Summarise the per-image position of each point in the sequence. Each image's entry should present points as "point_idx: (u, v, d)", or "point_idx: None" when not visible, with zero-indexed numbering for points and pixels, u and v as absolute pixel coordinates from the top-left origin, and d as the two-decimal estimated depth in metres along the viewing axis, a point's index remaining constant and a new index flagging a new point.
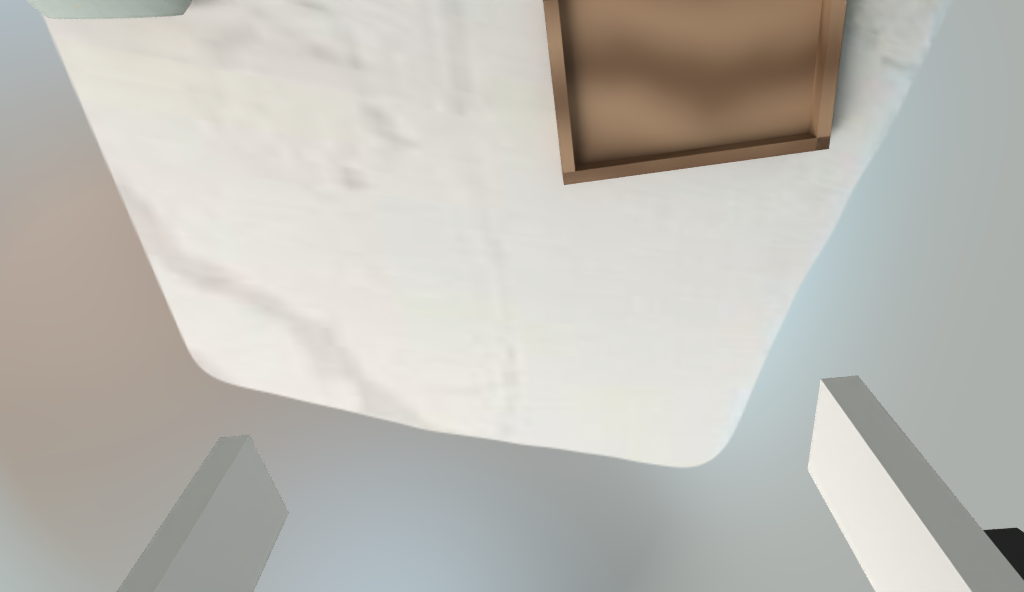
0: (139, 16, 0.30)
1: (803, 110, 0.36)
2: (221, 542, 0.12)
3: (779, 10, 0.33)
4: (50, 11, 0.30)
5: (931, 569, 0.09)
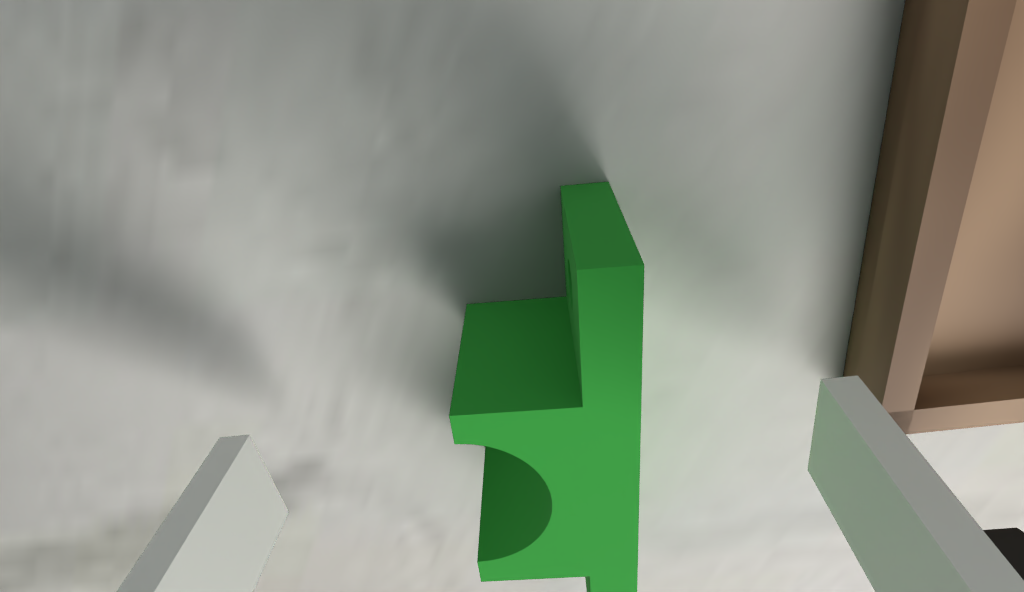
0: None
1: None
2: (221, 542, 0.12)
3: None
4: None
5: (931, 569, 0.09)
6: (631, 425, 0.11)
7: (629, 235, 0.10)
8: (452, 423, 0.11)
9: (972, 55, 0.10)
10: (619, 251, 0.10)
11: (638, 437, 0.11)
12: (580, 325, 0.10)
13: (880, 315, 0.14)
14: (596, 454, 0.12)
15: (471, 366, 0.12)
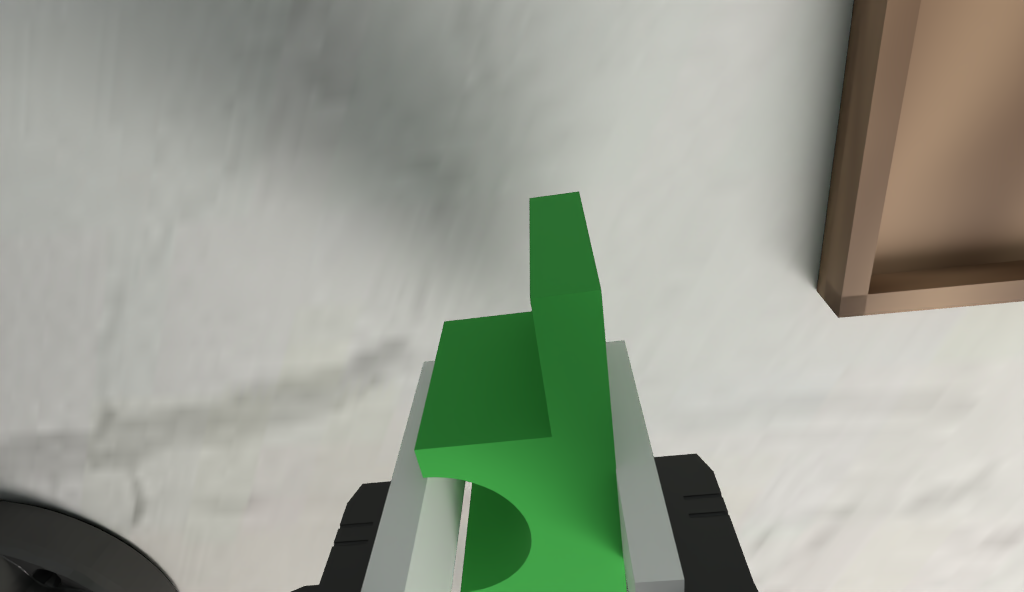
0: None
1: None
2: None
3: None
4: None
5: None
6: (605, 453, 0.11)
7: (590, 255, 0.10)
8: (418, 457, 0.11)
9: (896, 13, 0.14)
10: (578, 274, 0.09)
11: (614, 465, 0.11)
12: (540, 354, 0.09)
13: (841, 218, 0.18)
14: (570, 483, 0.11)
15: (441, 394, 0.12)
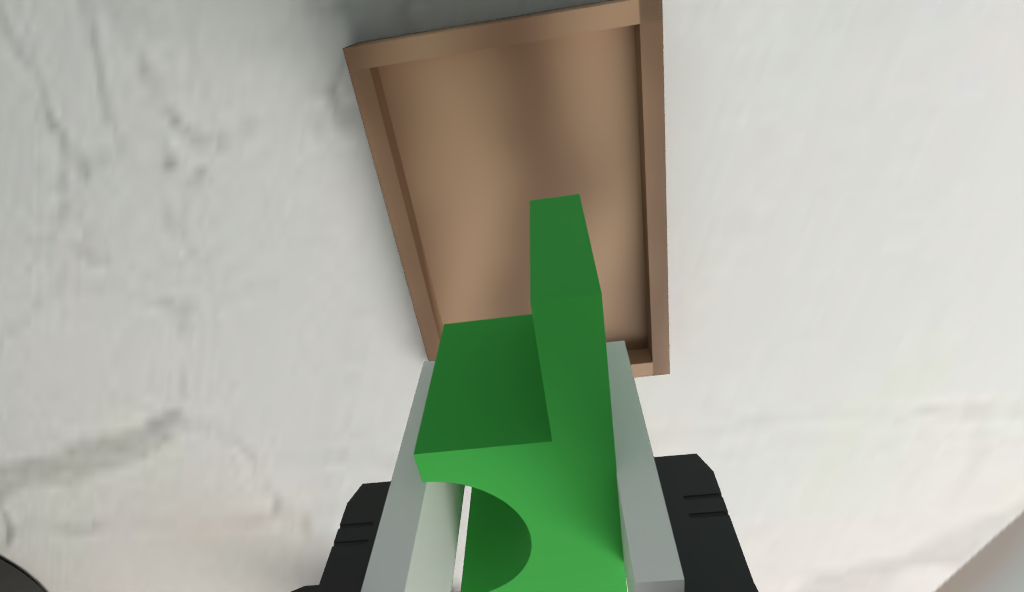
0: None
1: (595, 41, 0.22)
2: None
3: (452, 114, 0.23)
4: None
5: None
6: (606, 458, 0.11)
7: (591, 259, 0.10)
8: (417, 461, 0.11)
9: (399, 233, 0.25)
10: (578, 278, 0.09)
11: (614, 470, 0.11)
12: (540, 359, 0.09)
13: None
14: (571, 487, 0.11)
15: (441, 397, 0.12)
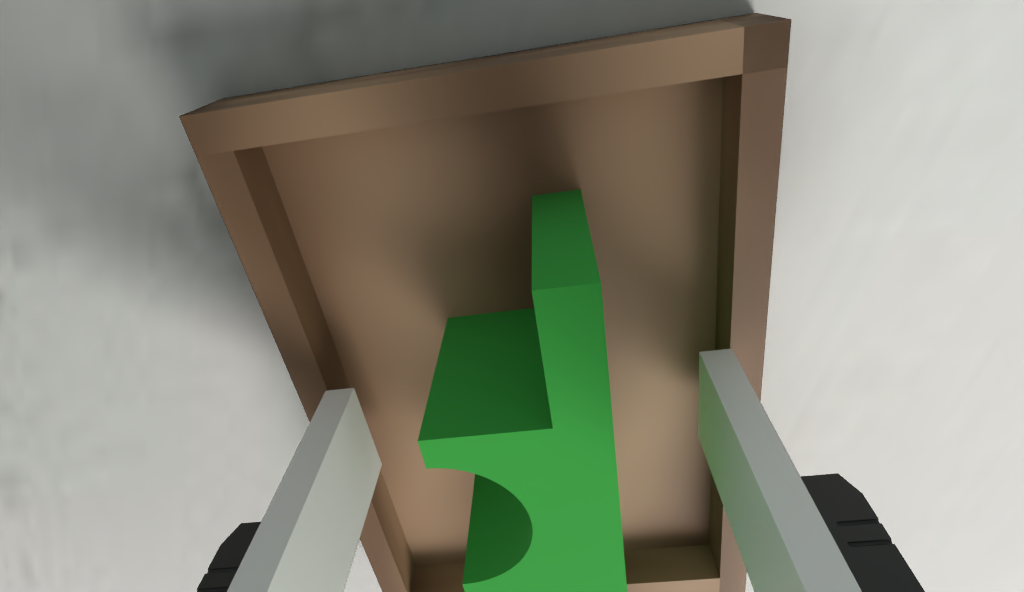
0: None
1: (649, 99, 0.12)
2: (339, 482, 0.13)
3: (397, 219, 0.13)
4: None
5: (756, 507, 0.10)
6: (605, 445, 0.11)
7: (591, 250, 0.10)
8: (421, 448, 0.11)
9: (313, 407, 0.15)
10: (578, 268, 0.10)
11: (613, 457, 0.11)
12: (541, 346, 0.10)
13: None
14: (571, 474, 0.11)
15: (444, 387, 0.12)
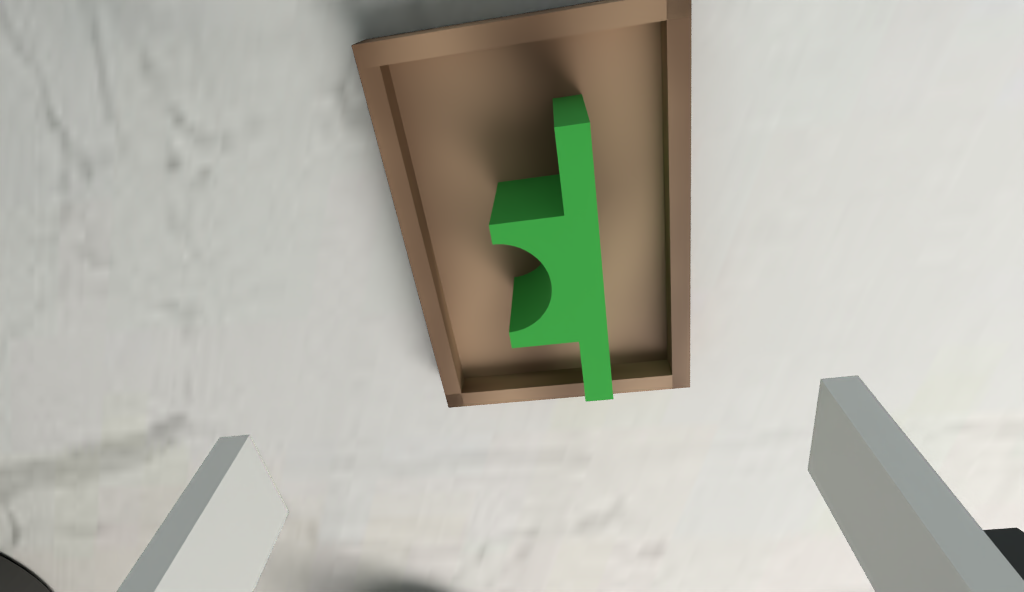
0: None
1: (618, 38, 0.20)
2: (221, 542, 0.12)
3: (466, 115, 0.22)
4: None
5: (931, 569, 0.09)
6: (593, 227, 0.19)
7: (586, 113, 0.19)
8: (490, 230, 0.20)
9: (409, 238, 0.24)
10: (579, 119, 0.18)
11: (598, 235, 0.19)
12: (558, 161, 0.18)
13: None
14: (574, 248, 0.20)
15: (501, 207, 0.21)
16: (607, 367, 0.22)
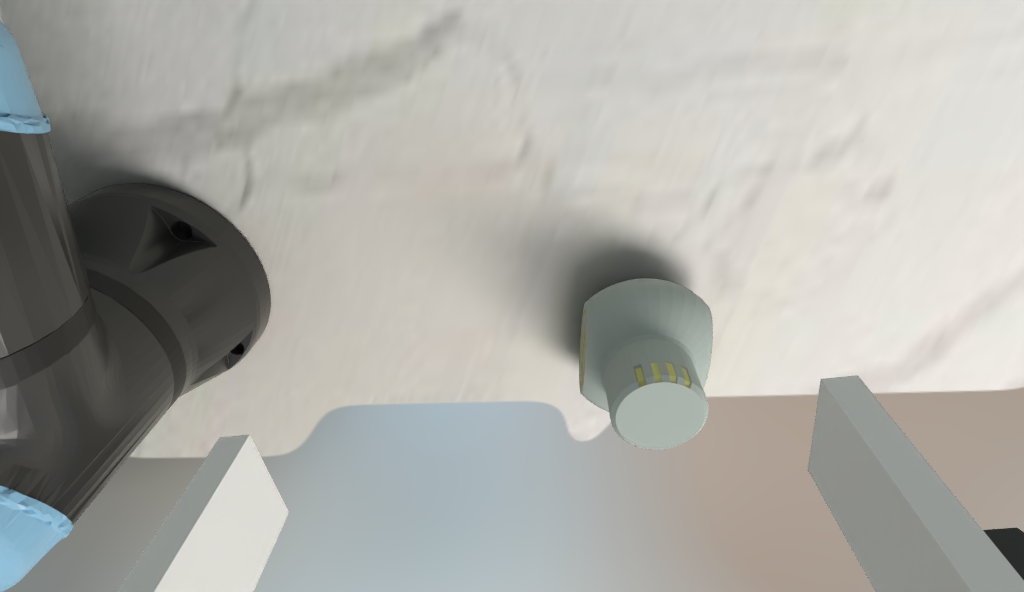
0: (712, 337, 0.37)
1: None
2: (221, 542, 0.12)
3: None
4: None
5: (931, 569, 0.09)
6: None
7: None
8: None
9: None
10: None
11: None
12: None
13: None
14: None
15: None
16: None
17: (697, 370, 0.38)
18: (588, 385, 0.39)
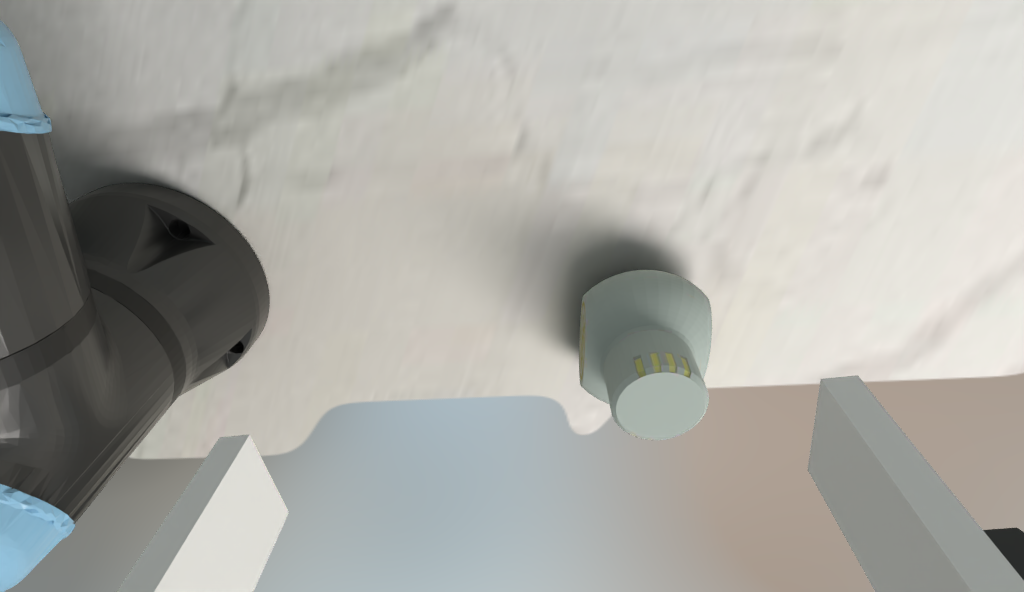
0: (711, 327, 0.37)
1: None
2: (221, 542, 0.12)
3: None
4: None
5: (931, 569, 0.09)
6: None
7: None
8: None
9: None
10: None
11: None
12: None
13: None
14: None
15: None
16: None
17: (697, 360, 0.38)
18: (588, 377, 0.39)
